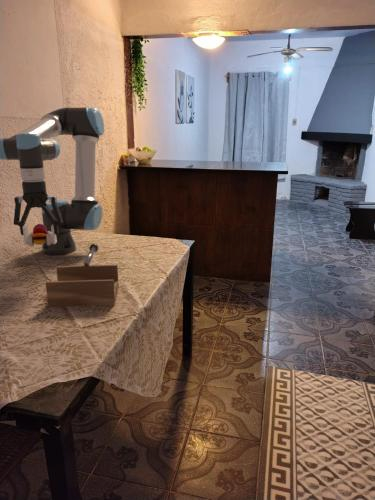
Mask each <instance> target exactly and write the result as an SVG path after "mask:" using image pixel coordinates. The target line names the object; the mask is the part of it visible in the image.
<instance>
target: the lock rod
mask: <svg viewBox="0 0 375 500" xmlns="http://www.w3.org/2000/svg"><path fill="white" fill-rule="evenodd" d="M88 250H89V251H88V253H87V255H86V257H85V259H84V261H83V262H82V263H83V266H88V265H90V263H91V261H92V260H93V257H94V255H95V253H97V252H98V250H99V245H98V244H97V243H91V244H90V246H89V249H88Z"/></svg>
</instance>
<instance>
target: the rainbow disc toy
mask: <svg viewBox="0 0 375 500" xmlns="http://www.w3.org/2000/svg"><path fill="white" fill-rule="evenodd" d="M28 235H29V236H28V238H27V243H28V244H27V245H28V246H29V247H34V245H37V246H39V245H41V246H42V245H43V244H44V243H46V241H47V245H51V244H52V243H53V240H52V232H50V231H48V232H47V229H46V227H45V226H44V225H43V223H38V224H37V223H36V225H34V227H33V228H32V232H30V233H28Z"/></svg>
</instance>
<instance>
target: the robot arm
mask: <svg viewBox="0 0 375 500" xmlns="http://www.w3.org/2000/svg"><path fill="white" fill-rule="evenodd" d="M104 132H105V123H104V119H103V116H102V113H101V112H100V110H99V109H98V108H97V107H89V106H86V107H62V108H58V109H55V110H53V111H51V112H48V113H46V114H45V115H43V116H42V117H41V118H40V119H39V121H37V122H35V123H33V124H32V125H30V126H28V127H27V128H25V129H23V130H21V131H19V132H18V133H16V134H14V135H12V136H11V137H9V138H5V137H2V138H0V160H7V161H18V162H19V171H20V178H21V181H22V182H21V186H22V193H23V194H22V196H16V197H14V198H13V199H14V215H13V225H14V226H18V227H19V231H20V235H21V236H23V240H24V241H23V243H24V245H28V243H27V238H28V236H29V228H28V225H27V224H26V222H27V219H28V217H29V214H30V212H31V210H32V209H35V208H40V209H41V216H42V217H41V218H42V224H43V225H44V226H45V227H46V229H47V232H48V231H50V232H52V240H53V243H52V244H51V245H47V241H46V243H44V244H42V245H41V250H42V251H41V252H42V253H43V254H46V255H48V256H49V255H50V256H54V255H56V256H58V255H59V256H60V255H65V254H66V255H67V254H70V253H73V252H75V251H77V250H76V249H77V245H76V242H75V240H74V238H73V235H72V231H71V230H74V231H76V230H77V231H95V230H97V229H98V228H99V227H100V225H101V223H102V220H103V207H102V206H101V204H99V201H98V199H97V198H96V196H95V195H96V191H95V190H96V189H95V188H96V184H95V183H96V146H97V145H96V144H97V143H98V142H99V141H100V136H103V135H104ZM64 135H66V136H71V137H72V140H73V141H75V160H74V161H75V164H74V165H75V169H74V170H75V171H74V172H75V173H74V175H75V179H74V197H72V199H71V203H69V201H68V200H67V199H59V200H57V199H58V198H57V196H56V195H48V193H47V185H46V180H45V179H46V175H45V169H44V168H45V167H44V161H52V160H55V159H57V158H58V157H59V155H60V153H61V147H60V144H59V142H58V141H56V140H55V139H54V138H56V137H58V136H64ZM48 200H49V201H48ZM23 201H24V202H25V203H26V205H25V209H24V211H23V213H22V216H21V212H22V211H21V208H22V203H23ZM47 201H48V202H47Z"/></svg>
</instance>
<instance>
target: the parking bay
mask: <svg viewBox="0 0 375 500" xmlns="http://www.w3.org/2000/svg"><path fill="white" fill-rule="evenodd" d="M55 269H56V277H57V279H56V280H52V281H49V280H48V281H47V280H46V281H45V290H46V297H47V298H46V299H47V306H48V308H63V307H65V308H66V307H67V308H68V307H69V308H70V307H91V306H92V307H93V306H94V307H95V306H96V307H97V306H116V301H117V297H118V292H119V291H118V290H119V284H120V283H119V272H118V271H119V269H118V264H98V265H97V264H94V265H93V264H92V265H90V264H89V265H88V266H85V265H62V266H61V265H60V266H59V265H58V266H56V268H55Z"/></svg>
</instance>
